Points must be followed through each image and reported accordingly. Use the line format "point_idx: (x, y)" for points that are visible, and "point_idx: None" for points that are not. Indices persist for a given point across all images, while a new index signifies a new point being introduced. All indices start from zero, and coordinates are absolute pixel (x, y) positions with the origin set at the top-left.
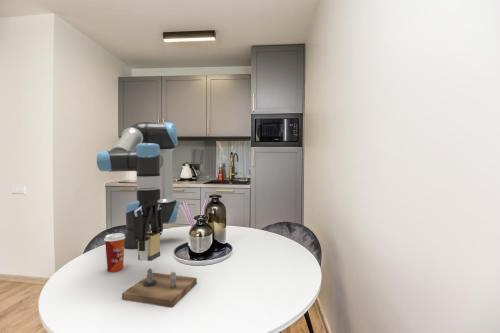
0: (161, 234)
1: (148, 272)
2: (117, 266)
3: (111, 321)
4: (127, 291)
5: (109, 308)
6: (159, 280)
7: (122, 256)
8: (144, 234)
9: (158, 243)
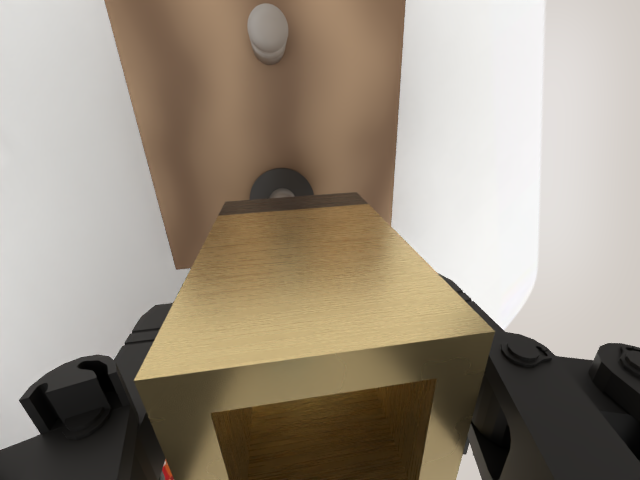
0: (61, 366)
1: None
2: None
3: (506, 160)
4: None
5: (438, 229)
6: (237, 176)
7: (168, 471)
8: (620, 441)
9: (236, 254)
